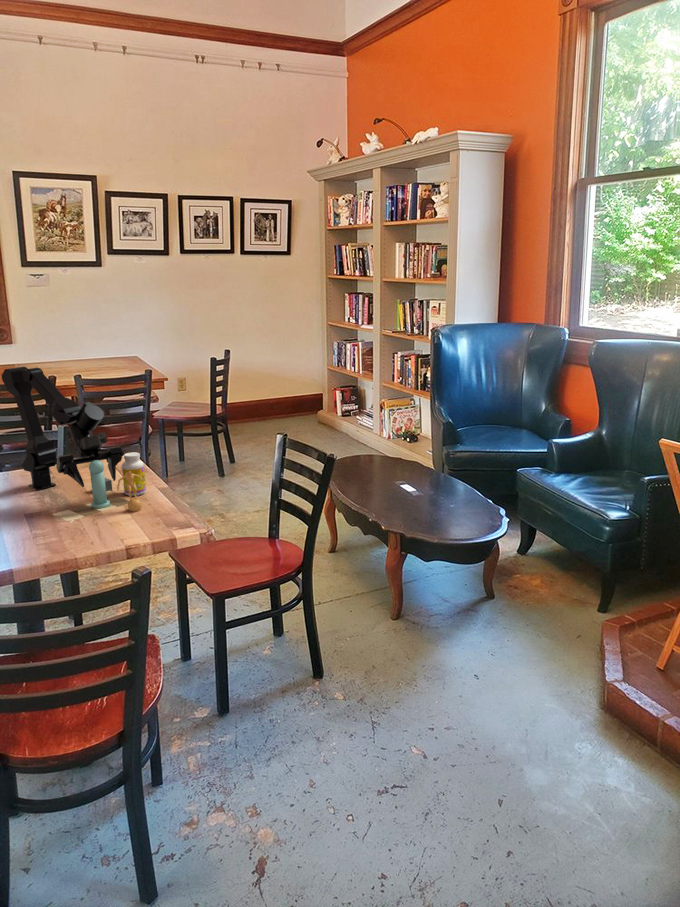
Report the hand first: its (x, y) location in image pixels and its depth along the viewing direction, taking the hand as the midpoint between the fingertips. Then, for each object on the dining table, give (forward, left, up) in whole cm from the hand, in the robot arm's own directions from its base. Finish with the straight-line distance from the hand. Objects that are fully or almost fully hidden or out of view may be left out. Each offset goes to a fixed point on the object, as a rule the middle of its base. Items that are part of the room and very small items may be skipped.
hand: (99, 483), depth 201 cm
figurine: (+9, +5, -8) cm, 13 cm away
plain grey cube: (-14, +9, -8) cm, 18 cm away
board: (-1, -2, -8) cm, 8 cm away
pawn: (-1, 0, -7) cm, 7 cm away
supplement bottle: (-5, +14, -8) cm, 17 cm away
